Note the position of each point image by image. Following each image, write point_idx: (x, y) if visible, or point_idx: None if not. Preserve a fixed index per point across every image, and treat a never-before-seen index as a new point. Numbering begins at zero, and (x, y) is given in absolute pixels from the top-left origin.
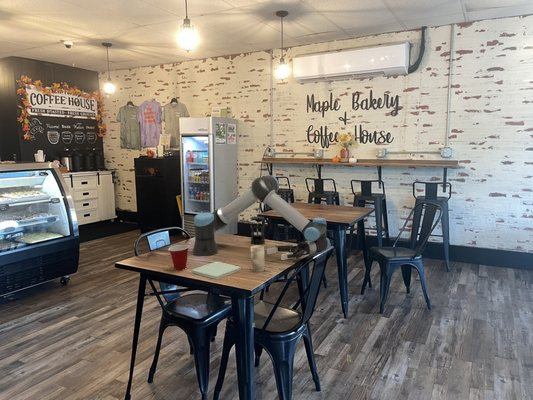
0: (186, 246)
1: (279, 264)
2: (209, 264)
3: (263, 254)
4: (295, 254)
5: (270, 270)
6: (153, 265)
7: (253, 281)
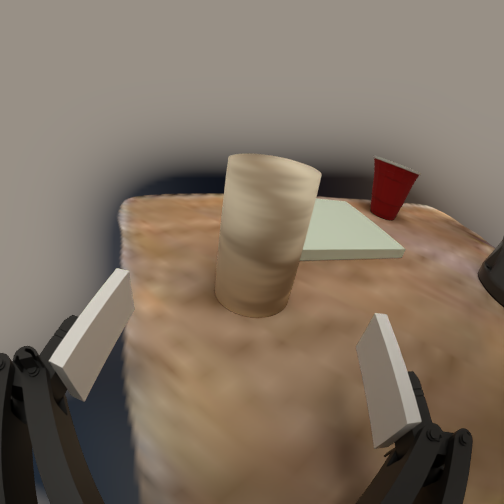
0: (411, 173)
1: (245, 434)
2: (378, 229)
3: (225, 207)
4: (20, 371)
5: (189, 314)
6: (416, 212)
7: (157, 221)
